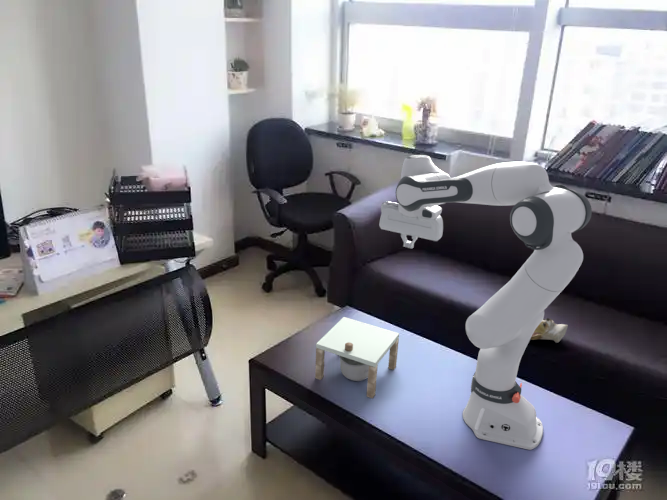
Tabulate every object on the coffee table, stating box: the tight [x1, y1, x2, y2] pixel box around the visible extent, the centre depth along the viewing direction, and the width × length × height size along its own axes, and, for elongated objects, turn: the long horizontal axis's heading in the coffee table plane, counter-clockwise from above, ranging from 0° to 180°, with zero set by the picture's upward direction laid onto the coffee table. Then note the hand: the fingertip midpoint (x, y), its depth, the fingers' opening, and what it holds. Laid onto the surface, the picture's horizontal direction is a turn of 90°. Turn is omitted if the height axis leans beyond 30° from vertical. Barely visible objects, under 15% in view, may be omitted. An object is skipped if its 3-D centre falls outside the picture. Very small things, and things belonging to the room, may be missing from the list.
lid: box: [315, 316, 400, 367], centre depth 182 cm, size 20×19×3 cm
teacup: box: [339, 355, 369, 382], centre depth 186 cm, size 14×11×8 cm
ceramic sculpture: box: [530, 317, 569, 344], centre depth 209 cm, size 11×9×15 cm
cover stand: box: [314, 337, 400, 400], centre depth 185 cm, size 20×20×11 cm
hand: (408, 247), depth 184 cm, fingers closed
